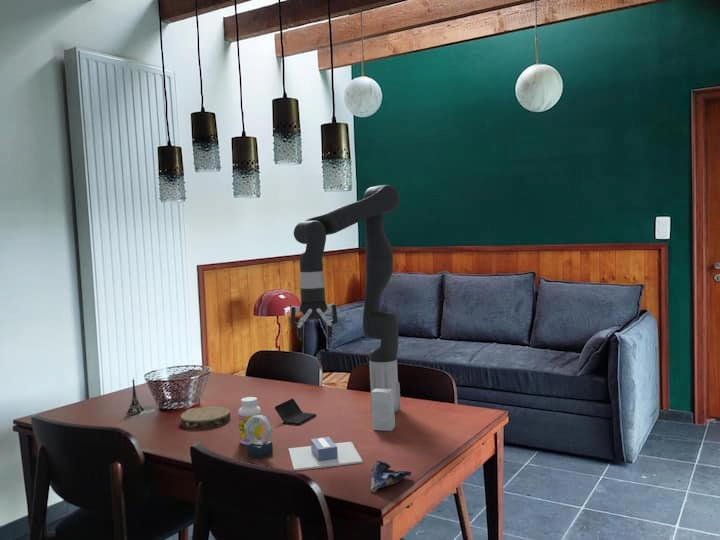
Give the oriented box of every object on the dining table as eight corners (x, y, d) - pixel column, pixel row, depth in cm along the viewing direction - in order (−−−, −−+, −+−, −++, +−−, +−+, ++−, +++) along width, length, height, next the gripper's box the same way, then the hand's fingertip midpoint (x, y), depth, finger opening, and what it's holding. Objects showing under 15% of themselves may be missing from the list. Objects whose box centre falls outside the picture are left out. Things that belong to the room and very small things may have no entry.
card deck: (337, 458, 171) (337, 446, 170) (318, 461, 169) (318, 449, 169) (329, 447, 179) (328, 436, 179) (311, 450, 178) (310, 438, 177)
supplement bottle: (235, 442, 189) (232, 399, 188) (252, 436, 194) (250, 394, 193) (250, 447, 184) (247, 403, 184) (267, 440, 189) (265, 397, 189)
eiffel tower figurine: (122, 422, 217) (119, 383, 216) (108, 416, 224) (106, 379, 223) (162, 411, 228) (160, 374, 227) (148, 407, 235) (145, 371, 234)
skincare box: (395, 427, 197) (393, 388, 196) (391, 431, 193) (389, 392, 192) (376, 426, 199) (374, 387, 198) (372, 430, 195) (370, 391, 194)
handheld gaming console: (305, 421, 202) (287, 394, 205) (288, 434, 204) (271, 408, 206) (318, 415, 213) (301, 391, 216) (302, 428, 214) (286, 403, 217)
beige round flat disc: (237, 423, 209) (236, 414, 209) (188, 433, 201) (188, 423, 201) (221, 412, 223) (221, 403, 222) (175, 421, 215) (175, 412, 214)
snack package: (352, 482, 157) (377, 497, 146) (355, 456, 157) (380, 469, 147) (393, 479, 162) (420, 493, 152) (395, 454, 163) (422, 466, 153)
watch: (255, 449, 182) (253, 411, 181) (277, 453, 178) (275, 414, 177) (242, 455, 177) (239, 416, 177) (264, 460, 173) (262, 420, 172)
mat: (351, 443, 184) (351, 441, 184) (362, 462, 168) (362, 461, 168) (288, 450, 180) (288, 448, 180) (294, 470, 165) (293, 468, 164)
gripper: (290, 288, 191) (292, 342, 192) (337, 285, 194) (339, 338, 195) (288, 286, 198) (290, 338, 199) (333, 283, 201) (335, 335, 202)
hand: (314, 338), depth 197 cm, fingers open, 8 cm apart
